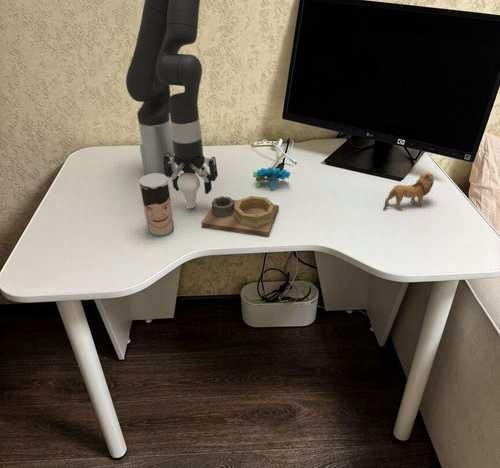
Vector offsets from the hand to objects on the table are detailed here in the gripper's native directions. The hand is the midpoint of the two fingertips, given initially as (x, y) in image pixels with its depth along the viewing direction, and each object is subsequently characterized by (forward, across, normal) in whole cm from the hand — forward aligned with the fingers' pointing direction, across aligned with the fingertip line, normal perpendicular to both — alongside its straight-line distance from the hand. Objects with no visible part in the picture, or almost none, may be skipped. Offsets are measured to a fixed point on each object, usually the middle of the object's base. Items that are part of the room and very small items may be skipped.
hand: (192, 191), depth 126 cm
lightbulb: (+5, -1, 0) cm, 5 cm away
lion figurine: (+6, +58, +14) cm, 60 cm away
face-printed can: (+6, -5, -12) cm, 14 cm away
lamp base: (+5, +14, -3) cm, 15 cm away
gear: (+6, +19, +17) cm, 26 cm away
